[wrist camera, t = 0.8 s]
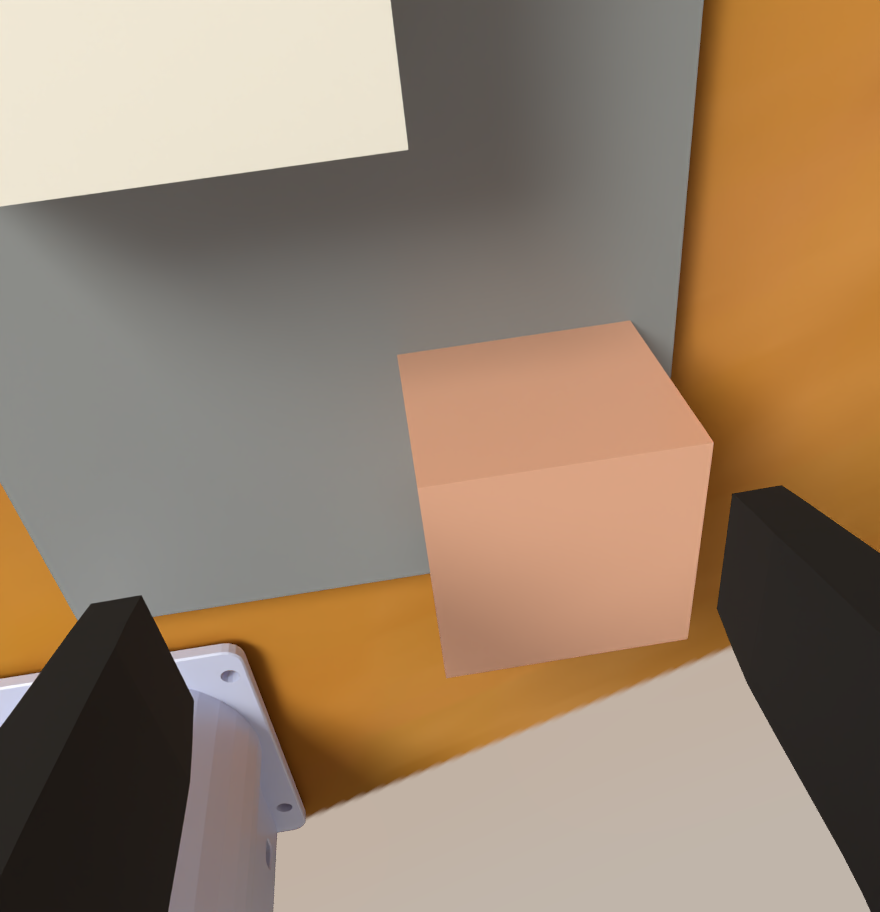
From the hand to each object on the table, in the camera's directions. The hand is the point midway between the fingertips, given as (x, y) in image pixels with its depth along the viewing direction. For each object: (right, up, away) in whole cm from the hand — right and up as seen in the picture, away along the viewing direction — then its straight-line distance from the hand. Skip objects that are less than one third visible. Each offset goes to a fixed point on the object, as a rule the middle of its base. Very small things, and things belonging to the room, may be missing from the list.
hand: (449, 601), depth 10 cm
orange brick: (+2, +2, +8) cm, 9 cm away
